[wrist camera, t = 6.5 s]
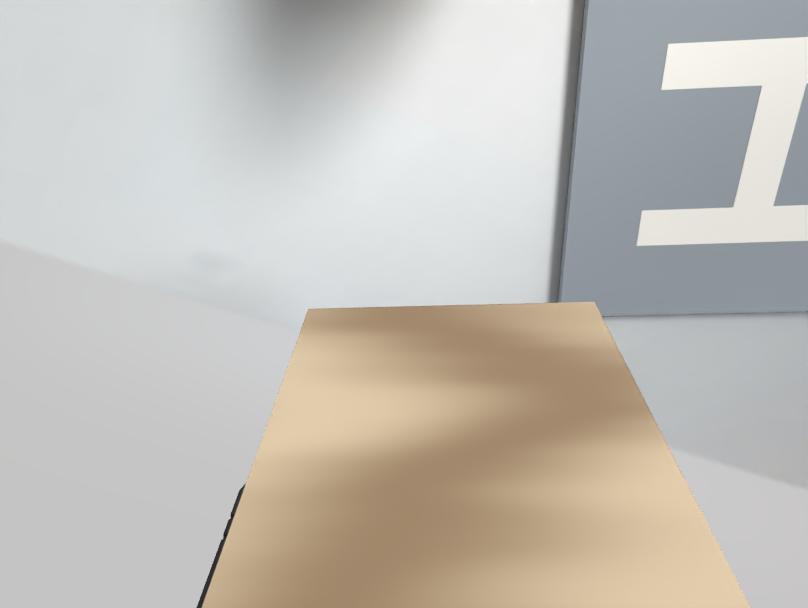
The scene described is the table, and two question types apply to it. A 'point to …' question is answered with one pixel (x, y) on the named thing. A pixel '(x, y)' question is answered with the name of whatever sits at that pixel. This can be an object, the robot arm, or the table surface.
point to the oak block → (466, 472)
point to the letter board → (689, 159)
